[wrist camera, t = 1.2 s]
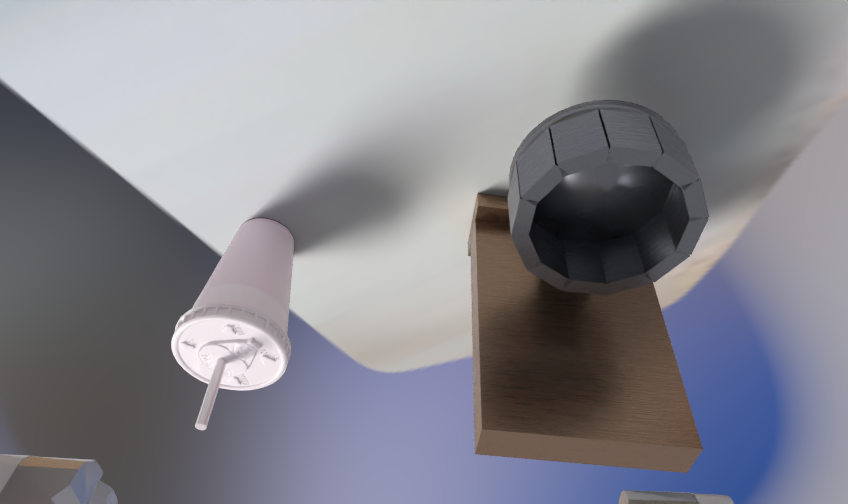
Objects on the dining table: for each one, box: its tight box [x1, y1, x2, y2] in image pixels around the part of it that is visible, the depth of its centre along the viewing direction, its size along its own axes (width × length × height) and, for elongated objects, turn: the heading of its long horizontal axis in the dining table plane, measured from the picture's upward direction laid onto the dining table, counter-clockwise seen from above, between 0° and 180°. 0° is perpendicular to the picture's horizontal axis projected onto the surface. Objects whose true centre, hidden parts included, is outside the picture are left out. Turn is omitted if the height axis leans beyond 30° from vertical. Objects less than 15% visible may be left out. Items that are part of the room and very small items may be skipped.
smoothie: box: [171, 218, 294, 430], centre depth 40 cm, size 6×6×14 cm
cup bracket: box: [468, 100, 709, 473], centre depth 35 cm, size 14×10×16 cm
